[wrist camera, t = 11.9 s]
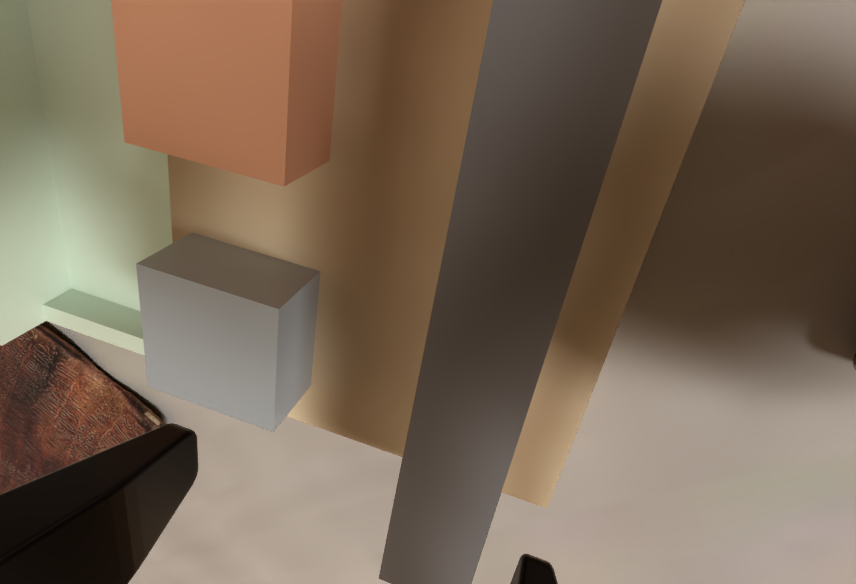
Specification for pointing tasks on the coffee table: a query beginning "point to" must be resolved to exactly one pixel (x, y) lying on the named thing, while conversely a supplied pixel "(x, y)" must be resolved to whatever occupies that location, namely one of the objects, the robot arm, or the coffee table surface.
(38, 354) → the wooden tablet
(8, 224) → the tray
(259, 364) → the grey square block
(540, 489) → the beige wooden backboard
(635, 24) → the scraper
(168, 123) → the terracotta tile
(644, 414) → the coffee table surface
